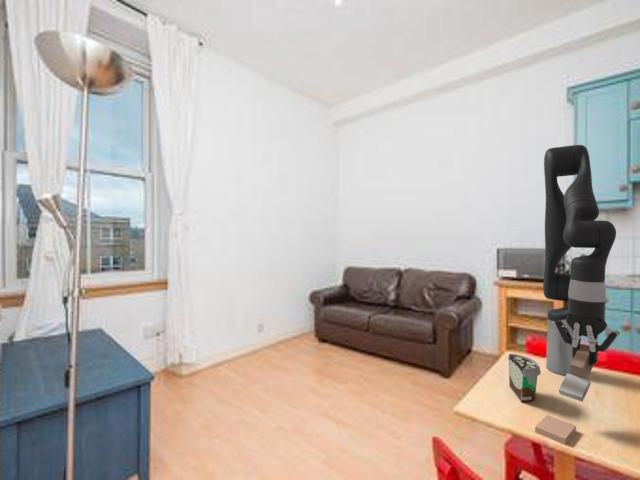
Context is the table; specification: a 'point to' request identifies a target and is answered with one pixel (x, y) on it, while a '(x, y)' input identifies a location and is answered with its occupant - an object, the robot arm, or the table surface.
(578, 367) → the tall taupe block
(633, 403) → the table surface
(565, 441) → the tile
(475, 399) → the table surface
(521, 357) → the food container
